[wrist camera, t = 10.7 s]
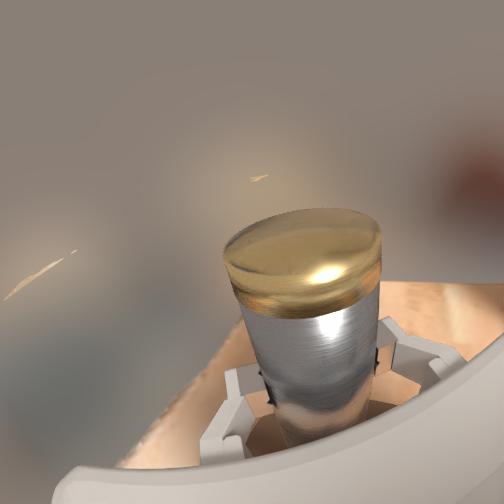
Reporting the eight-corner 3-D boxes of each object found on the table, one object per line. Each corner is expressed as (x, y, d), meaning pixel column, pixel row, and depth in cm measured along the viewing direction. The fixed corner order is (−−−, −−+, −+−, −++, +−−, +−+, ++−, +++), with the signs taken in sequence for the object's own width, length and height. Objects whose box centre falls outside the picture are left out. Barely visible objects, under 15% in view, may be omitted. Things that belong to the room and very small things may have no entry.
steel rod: (309, 408, 16) (273, 208, 11) (371, 424, 14) (390, 208, 8) (274, 460, 13) (190, 265, 8) (342, 484, 10) (356, 288, 5)
